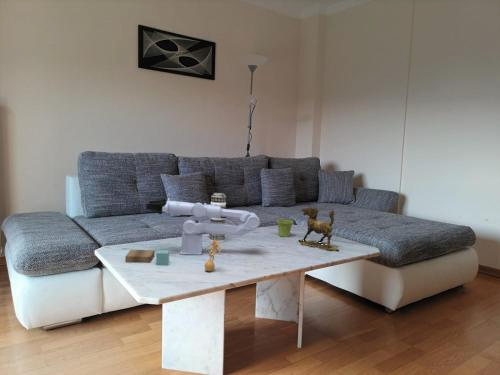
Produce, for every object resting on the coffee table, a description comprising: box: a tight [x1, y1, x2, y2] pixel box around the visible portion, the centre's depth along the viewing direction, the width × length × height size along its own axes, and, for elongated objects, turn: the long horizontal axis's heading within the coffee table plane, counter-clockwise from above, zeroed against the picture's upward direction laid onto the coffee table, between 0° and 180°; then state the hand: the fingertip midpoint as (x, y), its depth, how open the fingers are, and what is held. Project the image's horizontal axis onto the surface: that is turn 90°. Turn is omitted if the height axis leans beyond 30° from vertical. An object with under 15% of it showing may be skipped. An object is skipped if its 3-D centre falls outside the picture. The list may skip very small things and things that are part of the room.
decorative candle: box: [208, 192, 228, 243], centre depth 190 cm, size 9×9×25 cm
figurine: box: [297, 206, 340, 252], centre depth 188 cm, size 13×25×20 cm, turn 41°
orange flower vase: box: [204, 241, 222, 272], centre depth 142 cm, size 8×6×12 cm
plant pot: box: [276, 219, 294, 238], centre depth 208 cm, size 9×9×9 cm
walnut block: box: [125, 249, 155, 264], centre depth 153 cm, size 10×10×3 cm
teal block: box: [155, 249, 170, 266], centre depth 148 cm, size 4×4×5 cm
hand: (147, 204), depth 162 cm, fingers open, 7 cm apart
